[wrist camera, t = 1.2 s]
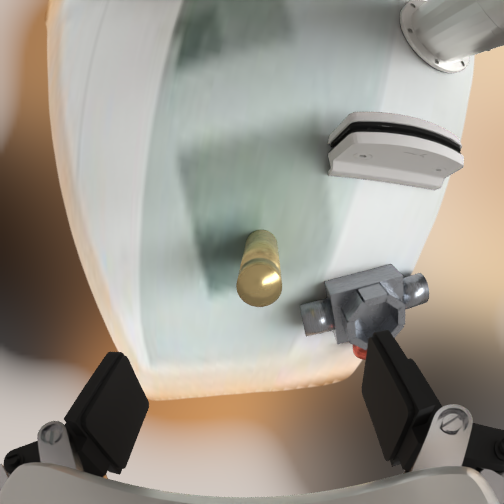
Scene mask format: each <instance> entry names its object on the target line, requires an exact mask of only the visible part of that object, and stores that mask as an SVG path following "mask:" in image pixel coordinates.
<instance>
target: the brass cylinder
mask: <svg viewBox="0 0 504 504" xmlns="http://www.w3.org/2000/svg"><path fill="white" fill-rule="evenodd" d="M281 291H282V280H281V271H280V263H279V254H278V245H277V240H276V238H275V236H274V235H273V234H272V233H270V232H269V231H266V230H257V231H254V232H253V233H251V234H250V235H249V237H248V238H247V241H246V245H245V249H244V253H243V258H242V262H241V267H240V271H239V275H238V280H237V292H238V295H239V296H240V298H241V299H242V300H243V301H244V302H245V303H247V304H249V305H251V306H255V307H264V306H268V305H270V304H272V303H273V302H275V301H276V300H277V299H278V298H279V296H280V294H281Z"/></svg>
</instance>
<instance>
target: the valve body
mask: <svg viewBox="0 0 504 504" xmlns="http://www.w3.org/2000/svg"><path fill="white" fill-rule="evenodd" d="M325 287H326V293H327V299H323V300H319V301H315V302H311V303H306V304H302V305H300V310H301V315H302V319H303V324H304V329H305V334H306V336H311V335H315V334H319V333H323V332H328V331H332V330H333V333H334V336H335V339H336V342H337V344H340V343H344V342H348V341H349V342H350V343H351V344H353V352H354V354H355V356H356V357H358V358H360V359H364V360H366V354H367V346H368V339H369V337H372V336H373V333H374V332H379V331H384V330H389V331H390V333H391V334H392V336H393V337H394V338H395V337H396V335H397V334H398V333H399V332H400V331H401V329H402V328H403V327H404V326H403V325H404V324H405V309H409V308H412V307H415V306H418V305H420V304H423V303H426V302H427V301H428V299H429V288H428V284H427V281H426V279H425V277H424V276H423V275H422V274H421V273H418V274H415V275H411V276H408V277H405V278H403V275H402V274H401V273H400V272H399V271H398V270H397V269H396V268H395V267H394V266H393V265H392V264H389V265H385V266H382V267H378V268H374V269H371V270H367V271H363V272H359V273H355V274H351V275H348V276H344V277H340V278H336V279H332V280H328V281H325Z"/></svg>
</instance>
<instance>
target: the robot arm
mask: <svg viewBox="0 0 504 504" xmlns="http://www.w3.org/2000/svg"><path fill="white" fill-rule="evenodd" d="M400 24H401V28H402V31H403V34H404V36H405V38H406V39H407V41H408V43H409V44H410V46H411V47H412V48H413V50H414V51H415V52H416V53H417V54H418V55H419V56H420V57H421V58H422V59H423V60H424V61H425V62H427V63H428V64H429V65H431V66H432V67H434V68H436V69H438V70H440V71H443V72H447V73H456V72H460V71H462V70H464V69H465V68H466V67H467V66H468V63H469V61H470V56H472V55H475V54H478V53H481V52H484V51H490V50H491V49H493V48H496V47H500V46H503V45H504V0H427V1H424V0H412V1H410V2H408V3H407V4H406V5H405V6H404V7H403V8H402V10H401V12H400ZM362 394H363V397H364V400H365V403H366V406H367V408H368V411H369V414H370V417H371V419H372V422H373V425H374V428H375V431H376V434H377V437H378V440H379V443H380V446H381V448H382V452H383V455H384V458H385V460H386V461H389V460H390V462H391V465H392V467H393V466H396V465H399V464H401V465H402V468H403V469H404V470H405V471H404V473H403V474H400V475H397V476H393V477H389V478H385V479H381V480H377V481H373V482H369V483H365V484H361V485H356V486H351V487H346V488H341V489H336V490H329V491H323V492H317V493H309V494H301V495H290V496H277V497H255V498H254V497H253V498H252V497H251V498H239V497H237V498H236V497H211V496H198V495H189V494H180V493H172V492H166V491H160V490H154V489H149V488H144V487H139V486H134V485H130V484H125V483H121V482H118V481H114V480H110V479H108V478H107V475H106V473H107V470H108V471H109V472H112V473H116V474H120V473H121V471H122V469H124V468H125V467H126V465H127V462H128V460H129V457H130V454H131V452H132V449H133V446H134V444H135V441H136V439H137V436H138V433H139V431H140V428H141V426H142V423H143V421H144V418H145V416H146V413H147V411H148V408H149V402H148V399H147V398H146V396H145V394H144V392H143V390H142V388H141V385H140V383H139V381H138V379H137V377H136V375H135V373H134V371H133V368H132V366H131V364H130V362H129V359H128V358H127V357H126V356H124V354H123V353H121V352H108V354H107V355H106V356H105V357H104V359H103V360H102V362H101V363H100V365H99V366H98V368H97V369H96V370H95V372H94V373H93V375H92V376H91V378H90V379H89V381H88V383H87V384H86V385H85V387H84V388H83V390H82V392H81V393H80V394H79V396H78V397H77V399H76V401H75V402H74V404H73V405H72V407H71V408H70V410H69V411H68V413H67V415H66V416H65V418H64V420H65V421H66V424H65V425H64V424H63V423H61V422H59V421H52V422H48V423H46V424H45V425H44V426H42V427H41V429H40V430H39V432H38V438H37V439H38V441H36V442H33V443H30V444H28V445H25V446H22V447H19V448H17V449H14V450H12V451H10V452H9V453H8V454H7V455H6V457H5V459H4V466H3V465H2V464H0V504H504V430H501V429H496V428H492V427H487V426H483V425H479V424H475V423H472V422H473V419H472V416H471V414H470V412H469V411H468V410H467V409H466V408H464V407H463V406H460V405H453V404H451V405H446V406H444V407H442V406H441V404H440V402H439V400H438V399H437V397H436V396H435V394H434V392H433V390H432V389H431V387H430V386H429V384H428V382H427V381H426V379H425V377H424V376H423V374H422V373H421V371H420V370H419V368H418V366H417V365H416V363H415V362H414V361H413V360H412V359H407V357H406V356H405V354H404V352H403V351H402V349H401V348H400V346H399V345H398V343H397V342H396V340H395V339H394V337H393V336H392V334H391V333H390V331H389V330H384V331H379V332H374V333H373V336H372V337H369V339H368V346H367V354H366V362H365V370H364V376H363V383H362Z"/></svg>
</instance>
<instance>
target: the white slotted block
mask: <svg viewBox="0 0 504 504" xmlns="http://www.w3.org/2000/svg"><path fill="white" fill-rule="evenodd" d="M328 144H330V145H331V147H334V148H333V149H332V150H331V152H330V153H328V157H329V162H330V167H331V169H330V170H329V171H328V175H329V176H338V177H348V178H357V179H365V180H373V181H381V182H388V183H395V184H401V185H408V186H414V187H420V188H426V189H431V190H436V189H439V188H441V187H442V184H443V182H444V179H445V178H446V177H448V176H449V175H451V174H453V173H455V172H456V171H458V170H460V169H461V168H463V164H464V157H463V155H461V153H460V151H461V148H462V146H461V143H460V140H459V138H458V136H456V135H455V134H453V133H452V132H450V131H449V130H447V129H445V128H443V127H441V126H438V125H436V124H434V123H431V122H428V121H425V120H422V119H418V118H414V117H410V116H405V115H399V114H392V113H382V112H353V113H350V114H349V115H348V116H347V117H346V118H345V119H344V120H343V122H342V123H341V124H340V125H339V126H338V127H337V128H336V129H335V130H334V131H333V132H332V133H331V134H330V136H329V139H328Z"/></svg>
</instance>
